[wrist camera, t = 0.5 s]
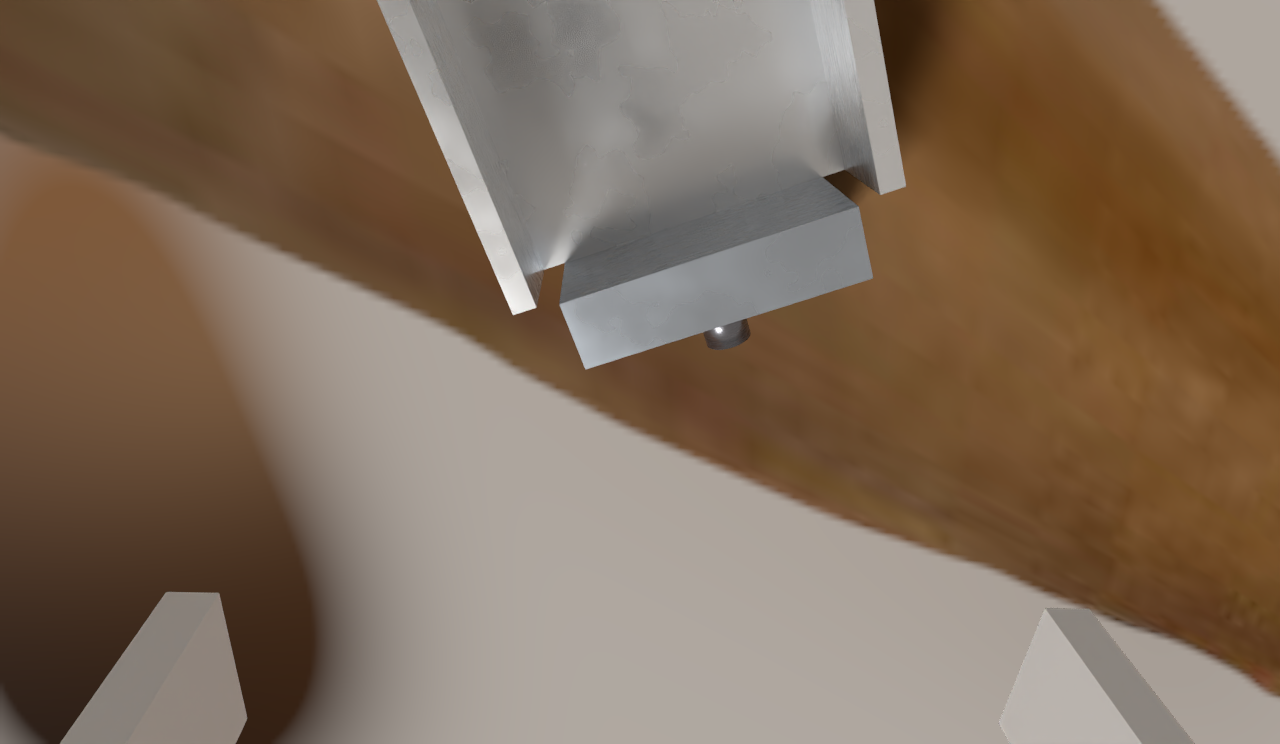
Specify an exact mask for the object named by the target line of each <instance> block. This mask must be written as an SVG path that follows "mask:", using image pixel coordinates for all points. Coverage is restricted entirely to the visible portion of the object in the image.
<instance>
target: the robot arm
mask: <svg viewBox="0 0 1280 744" xmlns="http://www.w3.org/2000/svg"><path fill="white" fill-rule="evenodd" d="M246 720H247V715H246V711H245V707H244V702H243V698H242V693H241V689H240V684H239V680H238V675H237V671H236V667H235V662H234V658H233V654H232V649H231V644H230V640H229V635H228V631H227V627H226V622H225V618H224V613H223V609H222V604H221V600H220V595H219V593H189V592H188V593H187V592H166V593H165V595H164V596H163V598H162V599H161V601H160V602H159V603H158V605H157V606H156V608H155V609H154V610H153V612H152V613H151V615H150V616H149V617H148V619H147V620H146V622H145V623H144V625H143V626H142V627H141V629H140V631H139V632H138V633H137V635H136V636H135V638H134V639H133V640H132V642H131V643H130V645H129V646H128V647H127V649H126V651H125V652H124V653H123V655H122V656H121V657H120V659H119V660H118V662H117V663H116V665H115V666H114V667H113V669H112V670H111V672H110V673H109V675H108V676H107V677H106V679H105V680H104V682H103V683H102V685H101V686H100V687H99V689H98V690H97V692H96V693H95V694H94V696H93V697H92V699H91V700H90V702H89V703H88V704H87V706H86V707H85V709H84V710H83V711H82V713H81V714H80V716H79V717H78V719H77V720H76V722H75V723H74V724H73V726H72V727H71V729H70V730H69V731H68V733H67V734H66V736H65V737H64V739H63V740H62V742H61V743H60V744H235V743H236V741H237V739H238V737H239V735H240V733H241V731H242V729H243V726H244V724H245V722H246ZM999 725H1000V727H1001V729H1002V730H1003V732H1004V734H1005V736H1006V738H1007V740H1008V742H1009V743H1010V744H1195V743H1194V742H1193V741H1192V739H1191V738H1190V737H1189V736H1188V734H1187V733H1186V732H1185V731H1184V729H1183V728H1182V727H1181V726H1180V724H1179V723H1178V722H1177V720H1176V719H1175V718H1174V716H1173V715H1172V714H1171V713H1170V711H1169V710H1168V709H1167V708H1166V706H1165V705H1164V704H1163V702H1162V701H1161V700H1160V699H1159V697H1158V696H1157V695H1156V693H1155V692H1154V691H1153V690H1152V688H1151V687H1150V686H1149V685H1148V683H1147V682H1146V681H1145V679H1144V678H1143V677H1142V676H1141V674H1140V673H1139V672H1138V671H1137V669H1136V668H1135V667H1134V665H1133V664H1132V663H1131V662H1130V660H1129V659H1128V658H1127V656H1126V655H1125V654H1124V653H1123V651H1122V650H1121V649H1120V648H1119V646H1118V645H1117V644H1116V642H1115V641H1114V640H1113V639H1112V637H1111V636H1110V635H1109V634H1108V632H1107V631H1106V630H1105V628H1104V627H1103V626H1102V625H1101V623H1100V622H1099V621H1098V619H1097V618H1096V617H1095V616H1094V614H1093V613H1092V612H1091V611H1090V609H1066V608H1063V609H1062V608H1045V610H1044V612H1043V614H1042V617H1041V619H1040V622H1039V624H1038V627H1037V629H1036V632H1035V634H1034V637H1033V639H1032V642H1031V644H1030V647H1029V649H1028V652H1027V654H1026V656H1025V659H1024V662H1023V664H1022V667H1021V669H1020V671H1019V674H1018V676H1017V679H1016V681H1015V684H1014V686H1013V689H1012V691H1011V694H1010V696H1009V698H1008V701H1007V703H1006V706H1005V708H1004V711H1003V713H1002V716H1001V718H1000V721H999Z"/></svg>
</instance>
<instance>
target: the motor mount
mask: <svg viewBox="0 0 1280 744" xmlns="http://www.w3.org/2000/svg"><path fill="white" fill-rule="evenodd" d="M377 1H378V4H379V6H380V8H381V11H382V13H383V15H384V17H385V20H386V22H387V24H388V27H389V29H390V31H391V34H392V36H393V38H394V41H395V43H396V45H397V48H398V50H399V52H400V55H401V57H402V59H403V61H404V64H405V66H406V68H407V71H408V73H409V75H410V78H411V80H412V82H413V85H414V87H415V89H416V92H417V94H418V96H419V98H420V101H421V103H422V105H423V108H424V110H425V112H426V115H427V117H428V119H429V122H430V124H431V126H432V129H433V131H434V133H435V135H436V138H437V140H438V142H439V145H440V147H441V149H442V152H443V154H444V156H445V159H446V161H447V163H448V166H449V168H450V170H451V173H452V175H453V177H454V179H455V182H456V184H457V186H458V189H459V191H460V193H461V196H462V198H463V200H464V203H465V205H466V207H467V210H468V212H469V214H470V216H471V219H472V221H473V223H474V226H475V228H476V230H477V233H478V235H479V237H480V240H481V242H482V244H483V247H484V249H485V251H486V253H487V256H488V258H489V260H490V263H491V265H492V267H493V270H494V272H495V274H496V277H497V279H498V281H499V284H500V286H501V288H502V291H503V293H504V295H505V297H506V300H507V302H508V304H509V307H510V309H511V311H512V314H513V315H515V314H518V313H521V312H524V311H527V310H530V309H533V308H536V307H537V303H538V298H539V293H540V289H541V284H542V279H543V274H544V270H545V269H548V268H551V267H554V266H557V265H560V264H563V263H565V268H564V275H563V282H562V289H561V297H560V307H561V309H562V312H563V314H564V317H565V319H566V322H567V324H568V327H569V329H570V332H571V334H572V337H573V339H574V342H575V344H576V347H577V349H578V352H579V354H580V357H581V359H582V362H583V364H584V367H585V369H588V368H591V367H595V366H598V365H601V364H604V363H607V362H610V361H614V360H617V359H620V358H623V357H626V356H629V355H632V354H636V353H639V352H642V351H645V350H648V349H651V348H655V347H658V346H661V345H664V344H667V343H670V342H673V341H677V340H680V339H683V338H686V337H689V336H692V335H696V334H699V333H702V332H703V333H704V337H705V340H706V343H707V346H708V347H709V348H711V349H715V350H722V349H728V348H732V347H735V346H737V345H739V344H741V343H743V342H744V341H746V340H747V339H748V338H749V336H750V329H749V326H748V322H747V319H746V318H749V317H752V316H755V315H759V314H762V313H765V312H768V311H771V310H774V309H777V308H781V307H784V306H787V305H790V304H793V303H796V302H800V301H803V300H806V299H809V298H812V297H815V296H818V295H822V294H825V293H828V292H831V291H834V290H837V289H841V288H844V287H847V286H850V285H853V284H856V283H859V282H863V281H866V280H869V279H872V278H873V275H872V270H871V265H870V261H869V256H868V251H867V246H866V241H865V236H864V231H863V226H862V221H861V216H860V211H859V206H857V205H856V204H855V203H854V202H852V201H851V200H850V199H849V198H848V197H846V196H845V195H844V194H843V193H841V192H840V191H839V190H838V189H836V188H835V187H834V186H833V185H832V184H830V183H829V182H828V181H827V180H825V179H824V178H823V177H824V176H827V175H830V174H833V173H836V172H839V171H842V170H846V171H847V172H849V173H850V174H851V175H853V176H854V177H856V178H857V179H858V180H860V181H861V182H863V183H864V184H866V185H867V186H868V187H870V188H871V189H873V190H874V191H875V192H877V193H878V194H880V195H881V194H884V193H887V192H891V191H894V190H897V189H900V188H903V187H906V184H905V178H904V172H903V166H902V160H901V155H900V149H899V143H898V137H897V131H896V126H895V120H894V114H893V108H892V103H891V97H890V91H889V85H888V79H887V74H886V68H885V62H884V56H883V50H882V45H881V39H880V33H879V27H878V22H877V16H876V10H875V4H874V0H377Z"/></svg>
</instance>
